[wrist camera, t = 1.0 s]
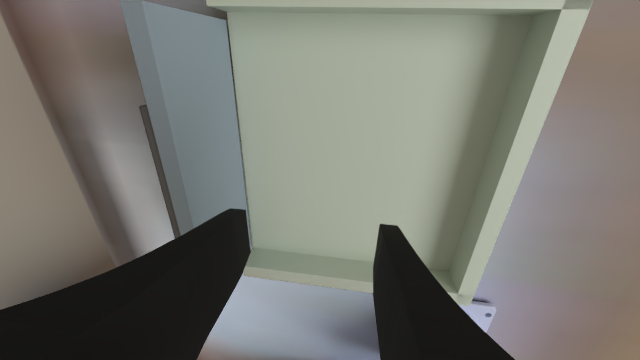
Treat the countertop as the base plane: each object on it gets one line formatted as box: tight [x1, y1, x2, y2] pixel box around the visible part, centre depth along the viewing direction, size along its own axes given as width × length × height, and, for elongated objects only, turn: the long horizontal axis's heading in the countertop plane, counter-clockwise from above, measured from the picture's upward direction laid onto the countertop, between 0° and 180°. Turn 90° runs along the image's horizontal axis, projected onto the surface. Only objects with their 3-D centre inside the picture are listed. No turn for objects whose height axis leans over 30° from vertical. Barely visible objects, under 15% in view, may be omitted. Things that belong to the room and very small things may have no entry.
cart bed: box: [206, 0, 594, 306], centre depth 16 cm, size 18×16×4 cm
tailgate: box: [120, 0, 251, 247], centre depth 15 cm, size 15×2×6 cm, turn 179°
